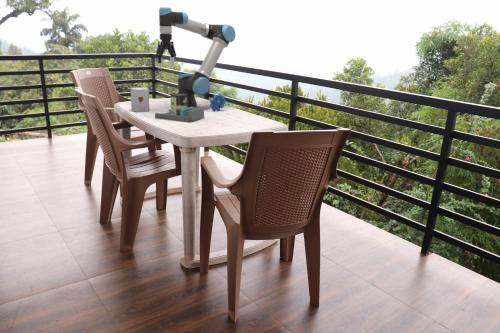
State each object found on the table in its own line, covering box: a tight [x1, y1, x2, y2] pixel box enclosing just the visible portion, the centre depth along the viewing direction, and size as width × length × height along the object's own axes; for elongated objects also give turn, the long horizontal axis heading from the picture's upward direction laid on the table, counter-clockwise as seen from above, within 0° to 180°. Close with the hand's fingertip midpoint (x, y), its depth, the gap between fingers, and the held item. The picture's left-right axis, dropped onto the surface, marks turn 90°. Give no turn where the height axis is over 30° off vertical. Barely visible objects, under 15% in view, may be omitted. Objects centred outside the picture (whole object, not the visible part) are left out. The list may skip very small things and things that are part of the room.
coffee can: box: [169, 92, 187, 116], centre depth 253 cm, size 10×10×14 cm
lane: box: [154, 106, 205, 123], centre depth 254 cm, size 25×17×7 cm
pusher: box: [180, 107, 195, 116], centre depth 252 cm, size 2×13×6 cm, turn 158°
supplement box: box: [130, 87, 150, 113], centre depth 273 cm, size 9×9×15 cm
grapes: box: [209, 93, 227, 112], centre depth 284 cm, size 12×7×12 cm, turn 113°
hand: (166, 68), depth 265 cm, fingers open, 13 cm apart
